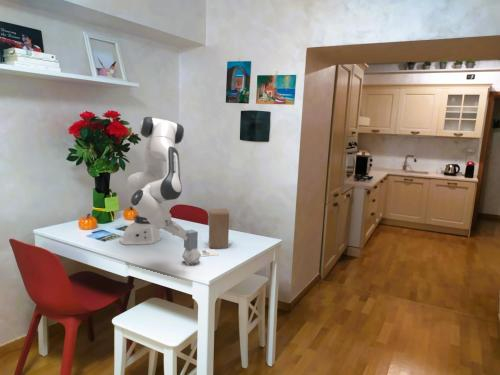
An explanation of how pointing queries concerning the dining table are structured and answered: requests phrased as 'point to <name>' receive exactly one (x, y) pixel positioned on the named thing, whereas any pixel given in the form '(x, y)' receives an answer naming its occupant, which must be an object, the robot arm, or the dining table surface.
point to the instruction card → (208, 253)
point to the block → (218, 228)
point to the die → (191, 256)
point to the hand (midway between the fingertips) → (180, 236)
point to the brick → (191, 240)
